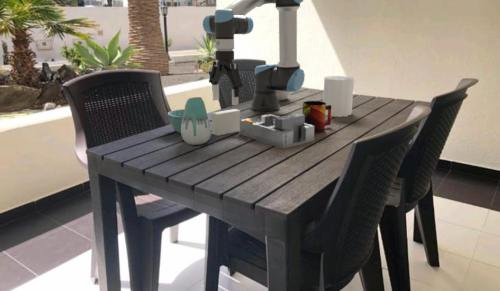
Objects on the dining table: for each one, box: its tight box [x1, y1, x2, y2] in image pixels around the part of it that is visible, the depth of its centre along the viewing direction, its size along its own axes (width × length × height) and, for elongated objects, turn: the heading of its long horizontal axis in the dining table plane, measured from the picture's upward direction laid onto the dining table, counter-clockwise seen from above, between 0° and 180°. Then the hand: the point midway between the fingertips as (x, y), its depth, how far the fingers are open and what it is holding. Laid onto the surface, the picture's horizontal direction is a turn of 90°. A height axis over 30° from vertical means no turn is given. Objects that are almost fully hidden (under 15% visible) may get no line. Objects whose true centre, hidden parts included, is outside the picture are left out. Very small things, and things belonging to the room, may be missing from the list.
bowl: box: [167, 108, 185, 134], centre depth 174 cm, size 16×16×8 cm
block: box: [211, 108, 241, 136], centre depth 172 cm, size 4×12×9 cm, turn 129°
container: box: [322, 75, 355, 118], centre depth 204 cm, size 14×14×18 cm
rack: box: [238, 113, 316, 150], centre depth 165 cm, size 27×17×10 cm, turn 39°
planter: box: [277, 90, 291, 102], centre depth 241 cm, size 17×17×15 cm
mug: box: [301, 100, 332, 135], centre depth 176 cm, size 10×14×12 cm
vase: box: [180, 96, 212, 146], centre depth 157 cm, size 12×12×18 cm
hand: (225, 102), depth 170 cm, fingers open, 13 cm apart
